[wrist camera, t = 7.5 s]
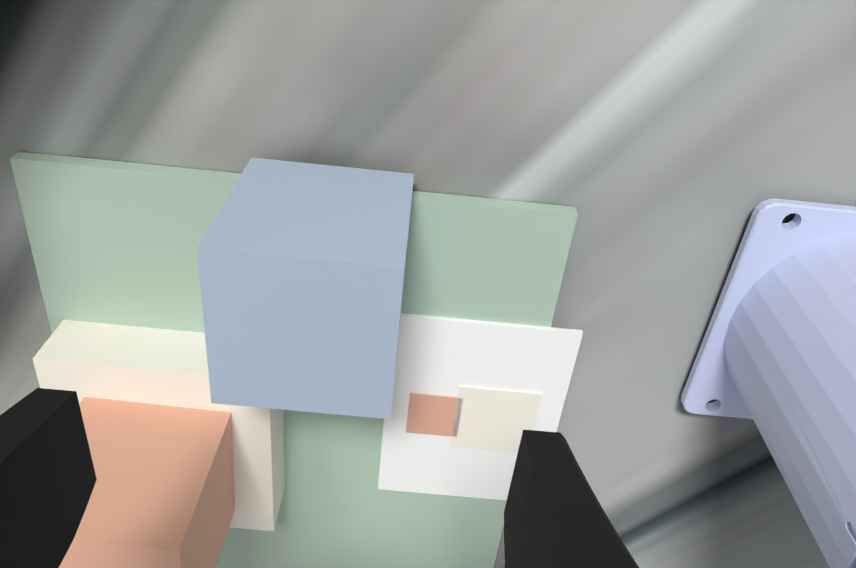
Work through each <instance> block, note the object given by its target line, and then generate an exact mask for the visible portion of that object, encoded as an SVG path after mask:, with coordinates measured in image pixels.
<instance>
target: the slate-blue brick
mask: <svg viewBox="0 0 856 568" xmlns="http://www.w3.org/2000/svg"><path fill="white" fill-rule="evenodd" d="M413 181H414V174H410V173H400V172H390V171H380V170H370V169H360V168H350V167H340V166H330V165H320V164H310V163H301V162H291V161H281V160H271V159H261V158H251V159H250V161H249V163H248V164H247V166H246V168H245V169H244V171H243V172H242V174H241V176H240V177H239V179H238V181H237V182H236V184H235V186H234V187H233V189H232V191H231V192H230V194H229V196H228V197H227V199H226V201H225V202H224V204H223V206H222V207H221V209H220V211H219V212H218V214H217V216H216V217H215V219H214V221H213V222H212V224H211V225H210V227H209V229H208V230H207V232H206V234H205V235H204V237H203V239H202V240H201V242H200V244H199V245H198V247H197V255H198V266H199V276H200V287H201V298H202V309H203V319H204V330H205V341H206V352H207V362H208V373H209V384H210V395H211V403H215V404H226V405H237V406H248V407H259V408H271V409H282V410H293V411H304V412H315V413H326V414H337V415H349V416H360V417H371V418H382V419H391V409H392V399H393V389H394V379H395V369H396V359H397V349H398V339H399V329H400V319H401V309H402V298H403V288H404V277H405V266H406V256H407V245H408V234H409V224H410V213H411V202H412V192H413Z"/></svg>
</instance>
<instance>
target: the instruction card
mask: <svg viewBox="0 0 856 568" xmlns="http://www.w3.org/2000/svg"><path fill="white" fill-rule="evenodd" d="M582 335H583V332H582V330H574V329H563V328H553V327H542V326H532V325H521V324H511V323H500V322H489V321H479V320H468V319H458V318H447V317H436V316H426V315H415V314H405V313H401V319H400V329H399V339H398V349H397V359H396V369H395V379H394V389H393V399H392V409H391V419H384V423H383V435H382V447H381V458H380V470H379V481H378V489H380V490H392V491H403V492H415V493H426V494H438V495H450V496H461V497H473V498H484V499H496V500H507V497H508V493H509V488H510V484H511V480H512V475H513V471H514V467H515V463H516V458H517V454H518V450H519V445H520V441H521V437H522V432H523V430H535V431H547V432H556V431H557V427H558V424H559V420H560V416H561V413H562V409H563V405H564V402H565V398H566V394H567V390H568V387H569V383H570V379H571V376H572V372H573V368H574V365H575V361H576V357H577V353H578V350H579V346H580V342H581V339H582Z"/></svg>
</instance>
